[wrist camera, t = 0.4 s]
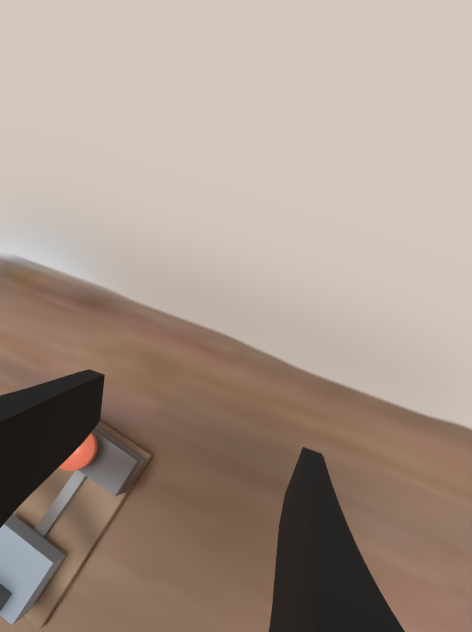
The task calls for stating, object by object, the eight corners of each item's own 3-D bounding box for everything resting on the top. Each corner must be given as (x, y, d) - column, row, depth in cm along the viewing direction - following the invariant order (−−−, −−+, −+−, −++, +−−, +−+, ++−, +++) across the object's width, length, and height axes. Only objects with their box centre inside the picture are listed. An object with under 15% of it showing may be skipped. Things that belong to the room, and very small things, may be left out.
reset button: (79, 478, 31) (75, 479, 30) (49, 456, 31) (43, 456, 30) (105, 441, 32) (101, 441, 31) (75, 420, 32) (70, 420, 31)
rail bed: (46, 623, 32) (13, 654, 27) (-31, 559, 34) (-75, 576, 29) (152, 455, 38) (141, 455, 33) (81, 407, 39) (60, 401, 35)
